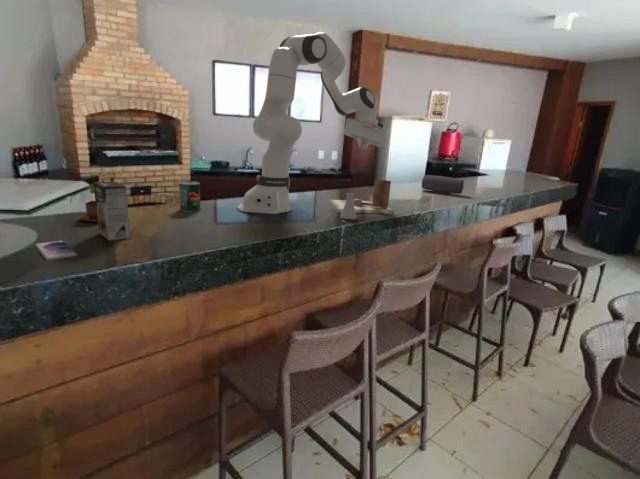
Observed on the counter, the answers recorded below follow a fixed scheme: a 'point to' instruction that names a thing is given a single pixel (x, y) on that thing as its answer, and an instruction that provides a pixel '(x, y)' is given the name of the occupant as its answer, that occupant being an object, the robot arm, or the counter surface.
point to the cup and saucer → (90, 212)
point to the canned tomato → (189, 196)
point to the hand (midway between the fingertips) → (362, 147)
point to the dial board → (360, 207)
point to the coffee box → (112, 210)
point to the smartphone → (55, 250)
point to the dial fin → (378, 195)
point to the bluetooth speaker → (442, 184)
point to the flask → (349, 208)
